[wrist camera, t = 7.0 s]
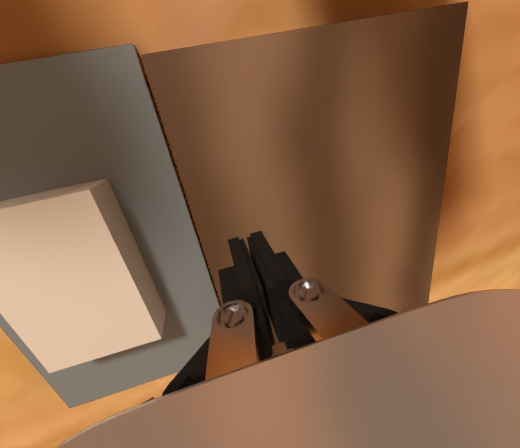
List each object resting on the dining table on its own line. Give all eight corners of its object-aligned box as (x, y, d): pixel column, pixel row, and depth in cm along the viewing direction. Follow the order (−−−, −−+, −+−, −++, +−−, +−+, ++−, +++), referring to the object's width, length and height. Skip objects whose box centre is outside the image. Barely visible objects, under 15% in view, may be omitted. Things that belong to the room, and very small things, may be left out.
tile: (-72, 225, 10) (-23, 205, 12) (49, 373, 14) (69, 338, 16) (89, 189, 11) (107, 177, 13) (161, 338, 14) (166, 310, 17)
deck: (414, 24, 14) (468, 1, 11) (398, 285, 21) (427, 309, 18) (154, 69, 12) (141, 54, 9) (237, 337, 19) (244, 373, 17)
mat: (134, 45, 11) (132, 43, 11) (234, 348, 20) (234, 353, 19) (-183, 96, 10) (-199, 95, 9) (72, 402, 18) (69, 408, 18)
